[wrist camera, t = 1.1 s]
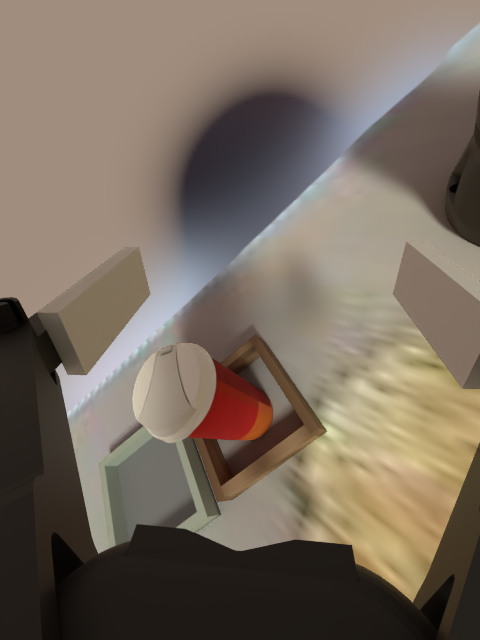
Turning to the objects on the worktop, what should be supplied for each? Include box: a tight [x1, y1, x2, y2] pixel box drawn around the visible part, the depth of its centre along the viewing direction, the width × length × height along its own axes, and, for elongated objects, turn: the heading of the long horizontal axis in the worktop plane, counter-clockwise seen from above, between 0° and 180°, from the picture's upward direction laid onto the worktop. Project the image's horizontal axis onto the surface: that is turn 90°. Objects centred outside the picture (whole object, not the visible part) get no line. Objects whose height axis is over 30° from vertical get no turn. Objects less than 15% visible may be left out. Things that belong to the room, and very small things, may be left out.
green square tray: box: [99, 426, 221, 548], centre depth 36 cm, size 14×14×2 cm
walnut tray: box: [194, 335, 327, 502], centre depth 34 cm, size 13×13×3 cm
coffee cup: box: [133, 343, 273, 443], centre depth 29 cm, size 8×8×15 cm
